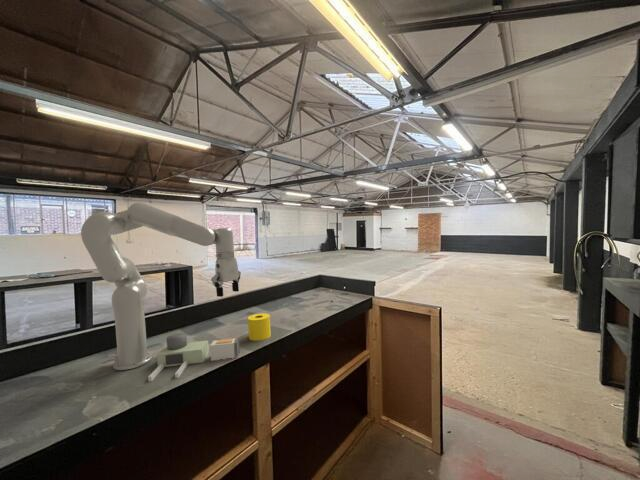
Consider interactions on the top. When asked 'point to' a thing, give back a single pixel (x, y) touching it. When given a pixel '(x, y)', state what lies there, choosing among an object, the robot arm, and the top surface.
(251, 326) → the tape roll
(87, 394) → the top surface
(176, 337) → the green box with window
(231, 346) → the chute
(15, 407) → the top surface
